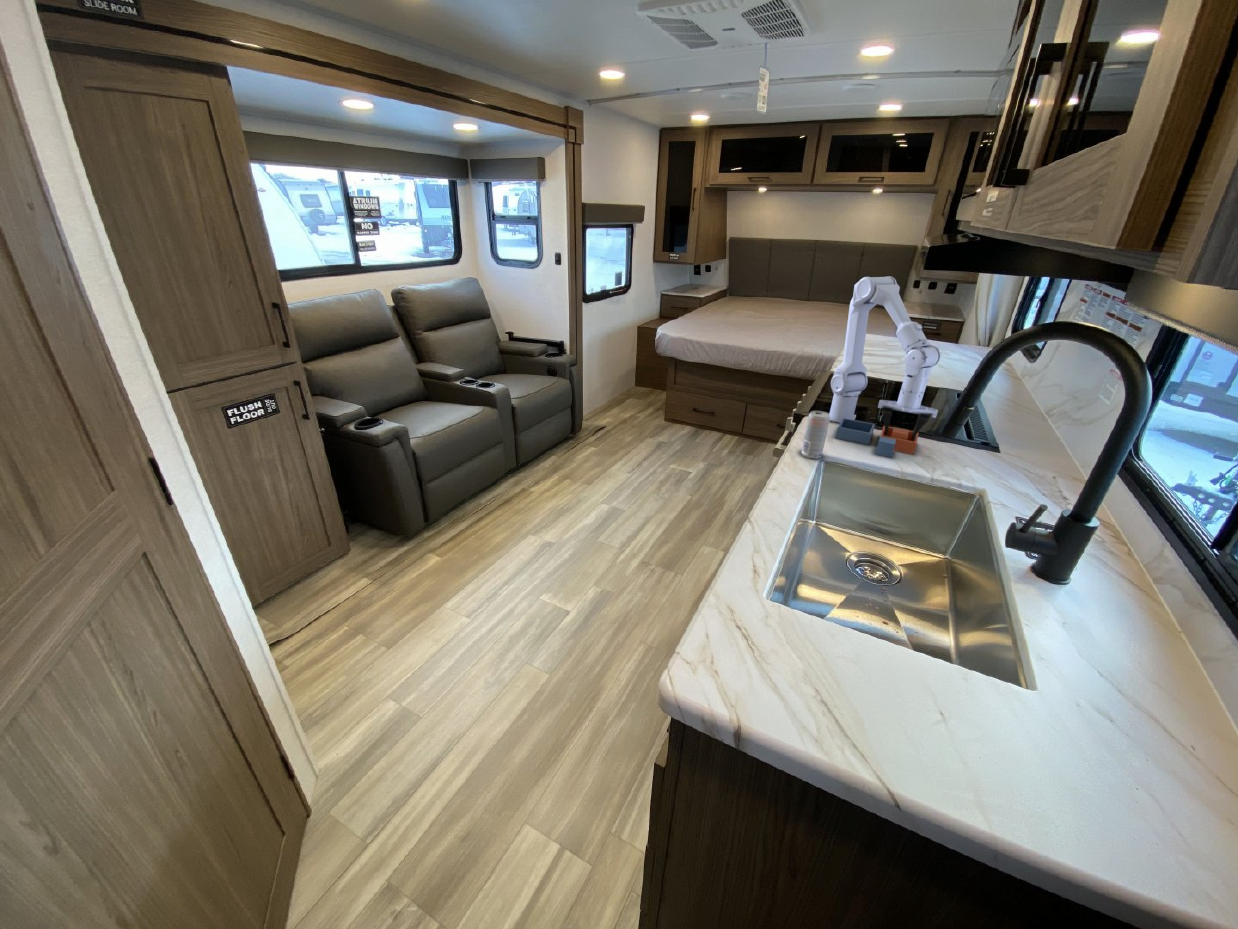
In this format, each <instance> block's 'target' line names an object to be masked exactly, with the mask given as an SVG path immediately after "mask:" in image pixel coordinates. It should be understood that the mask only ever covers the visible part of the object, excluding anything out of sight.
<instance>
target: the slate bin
mask: <svg viewBox="0 0 1238 929" xmlns="http://www.w3.org/2000/svg"><path fill="white" fill-rule="evenodd" d="M875 426H876V423H871V422H866V421H861V420H856V419H854V420H851V419H845V418H843V419H842V420H841V422H840V423H839V424H838V426H837V428H836V433H835V437H834V439H837V440H844V441H846V442H853V443H858V444H862V445H868V446H869V445H870V442H871V440H872V438H873V434H874V431H875Z"/></svg>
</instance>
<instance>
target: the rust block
mask: <svg viewBox="0 0 1238 929" xmlns="http://www.w3.org/2000/svg"><path fill="white" fill-rule="evenodd" d="M909 431H910V430H909V429H906V428H899V427H893V431H892V435H891V437H893V438H898V439H903V440H907V437H908V433H909Z"/></svg>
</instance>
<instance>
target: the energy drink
mask: <svg viewBox="0 0 1238 929" xmlns="http://www.w3.org/2000/svg"><path fill="white" fill-rule="evenodd" d="M830 422H831V421H830V414H829V412H826V411H823V410H812V411H810V412H809V414H808V417H807V422H806V427H805V432H804V437H803V443H802V448H801V452H800V453H801V454H802V456H804V458H808V459H812V460H813V459H820V458H821V457H822V456H823V452H824V448H825V445H826V444H825V443H826V439H827V435H828V429H829V426H830Z"/></svg>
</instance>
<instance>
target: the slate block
mask: <svg viewBox="0 0 1238 929" xmlns="http://www.w3.org/2000/svg"><path fill="white" fill-rule="evenodd" d="M895 442H896V439H891V438H886V437H881V436H879V439H878V443H877V447H876V449H875V453H874V454H875V455H877V456H882V457H886V458H892V456H893V452H894V450H893V449H894V446H895Z"/></svg>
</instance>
